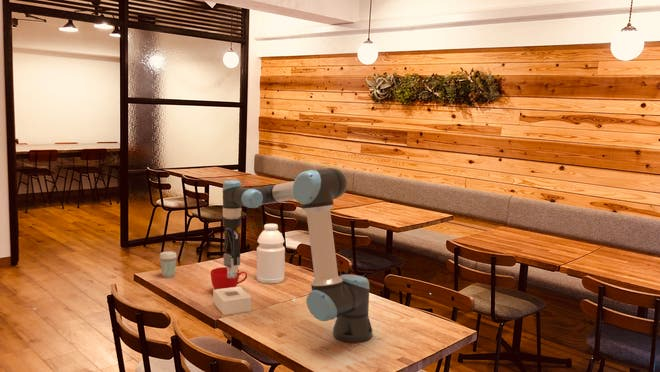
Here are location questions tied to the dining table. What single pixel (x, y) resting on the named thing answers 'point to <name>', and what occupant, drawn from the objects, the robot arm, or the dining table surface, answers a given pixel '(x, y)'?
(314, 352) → the dining table surface
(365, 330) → the robot arm
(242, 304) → the block
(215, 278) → the ceramic cup
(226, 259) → the pin
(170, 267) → the coffee cup
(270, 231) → the bottle
